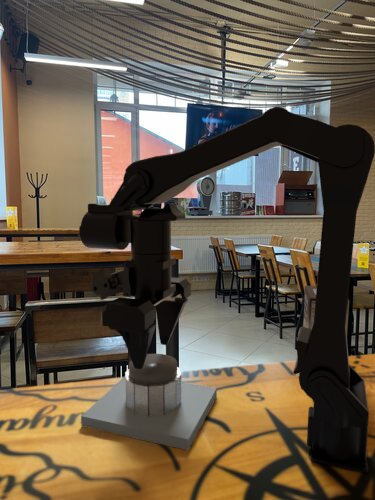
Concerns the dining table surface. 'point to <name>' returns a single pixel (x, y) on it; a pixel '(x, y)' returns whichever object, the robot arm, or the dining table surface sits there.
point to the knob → (154, 370)
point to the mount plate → (153, 428)
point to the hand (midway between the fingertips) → (152, 355)
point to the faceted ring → (153, 396)
